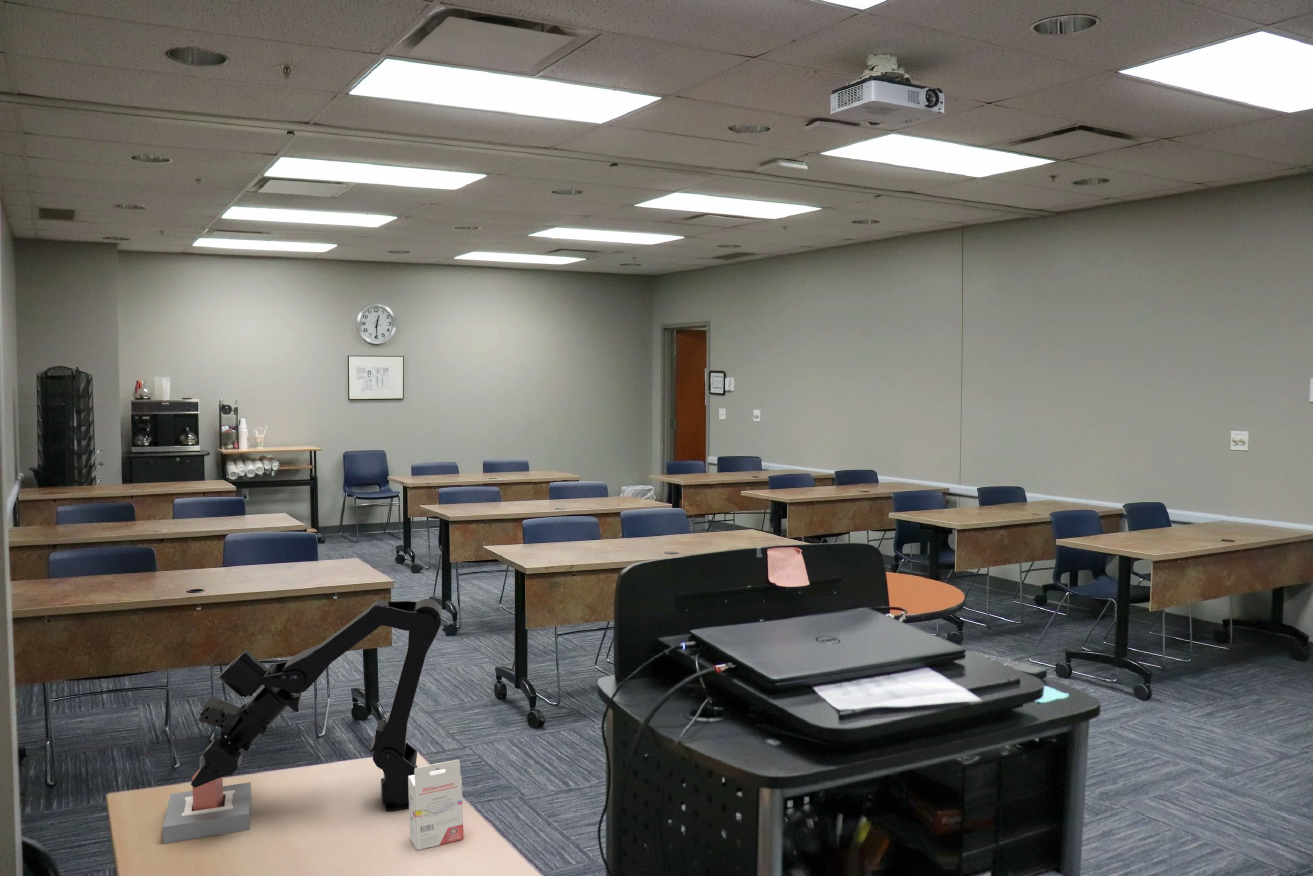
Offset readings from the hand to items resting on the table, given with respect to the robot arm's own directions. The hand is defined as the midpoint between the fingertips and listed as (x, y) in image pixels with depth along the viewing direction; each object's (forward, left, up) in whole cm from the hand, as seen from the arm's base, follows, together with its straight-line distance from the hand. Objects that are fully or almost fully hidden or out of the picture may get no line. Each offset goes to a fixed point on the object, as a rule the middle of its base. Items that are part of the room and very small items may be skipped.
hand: (199, 775), depth 179 cm
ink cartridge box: (-39, +23, -9) cm, 47 cm away
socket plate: (-1, 0, -9) cm, 9 cm away
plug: (-1, 0, -9) cm, 9 cm away
